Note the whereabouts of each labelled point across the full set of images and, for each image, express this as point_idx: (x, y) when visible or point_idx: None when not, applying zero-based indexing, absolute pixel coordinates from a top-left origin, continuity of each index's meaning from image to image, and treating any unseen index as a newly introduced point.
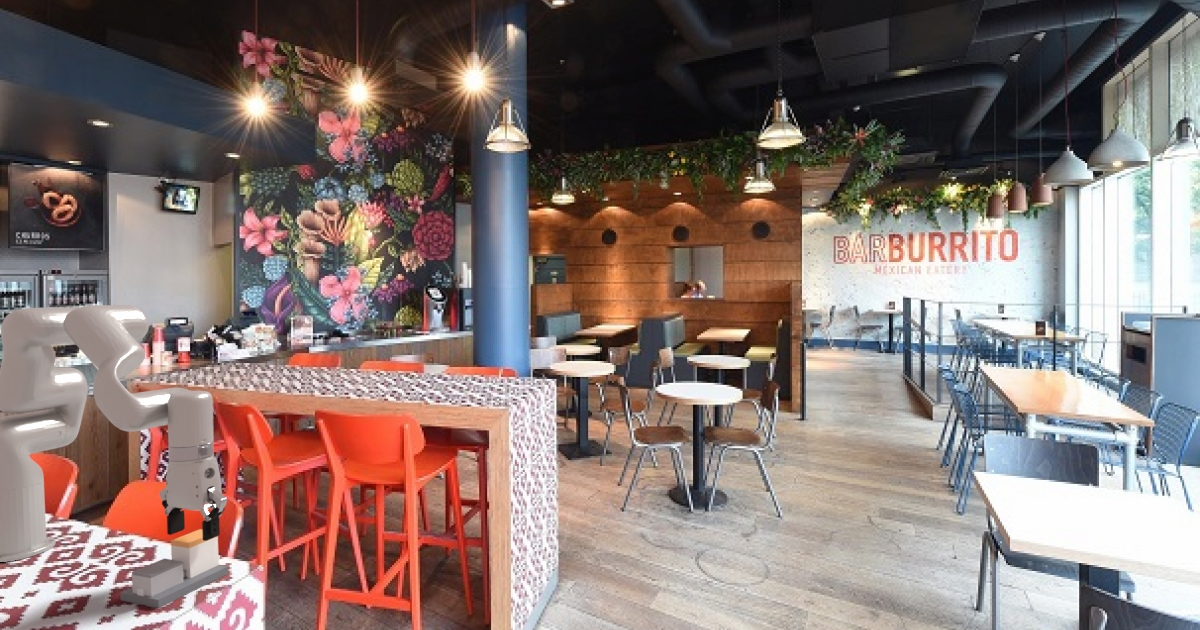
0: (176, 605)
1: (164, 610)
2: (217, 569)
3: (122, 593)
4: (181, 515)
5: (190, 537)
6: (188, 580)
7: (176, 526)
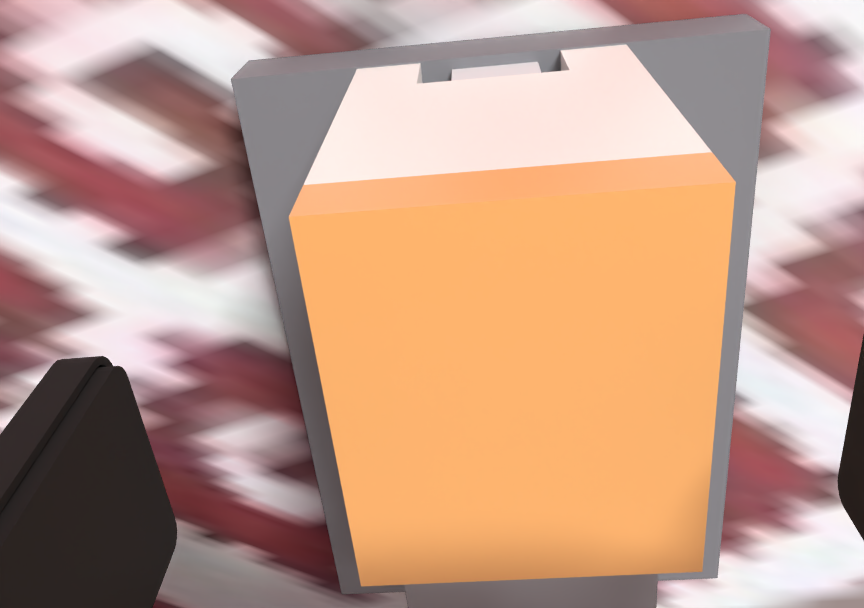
0: (775, 474)
1: (754, 527)
2: (717, 125)
3: (359, 589)
4: (24, 596)
5: (511, 461)
6: None
7: (128, 534)
